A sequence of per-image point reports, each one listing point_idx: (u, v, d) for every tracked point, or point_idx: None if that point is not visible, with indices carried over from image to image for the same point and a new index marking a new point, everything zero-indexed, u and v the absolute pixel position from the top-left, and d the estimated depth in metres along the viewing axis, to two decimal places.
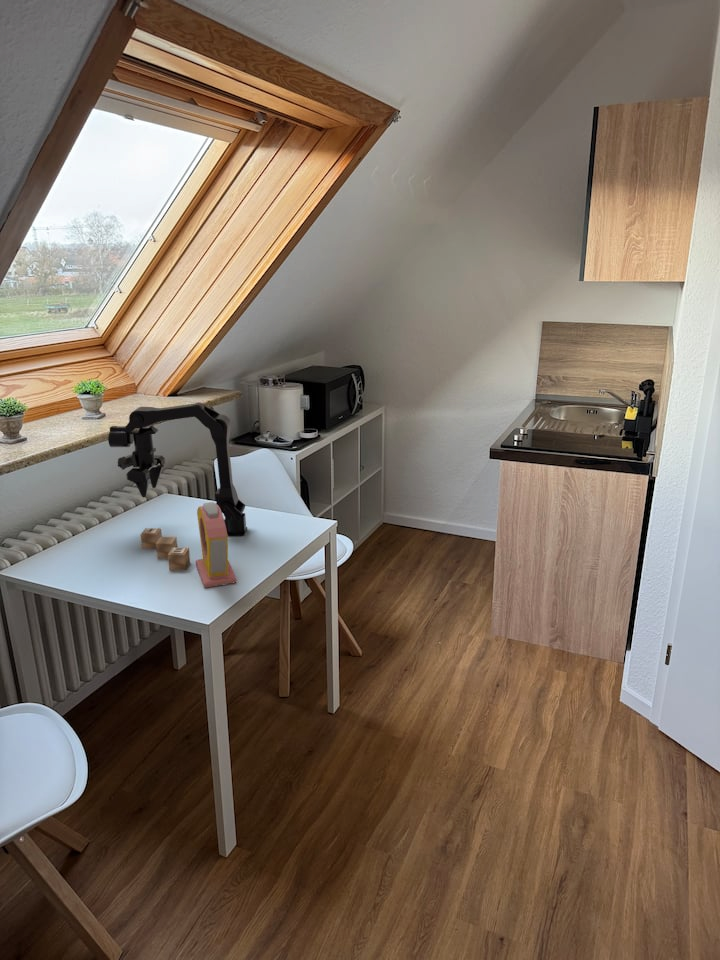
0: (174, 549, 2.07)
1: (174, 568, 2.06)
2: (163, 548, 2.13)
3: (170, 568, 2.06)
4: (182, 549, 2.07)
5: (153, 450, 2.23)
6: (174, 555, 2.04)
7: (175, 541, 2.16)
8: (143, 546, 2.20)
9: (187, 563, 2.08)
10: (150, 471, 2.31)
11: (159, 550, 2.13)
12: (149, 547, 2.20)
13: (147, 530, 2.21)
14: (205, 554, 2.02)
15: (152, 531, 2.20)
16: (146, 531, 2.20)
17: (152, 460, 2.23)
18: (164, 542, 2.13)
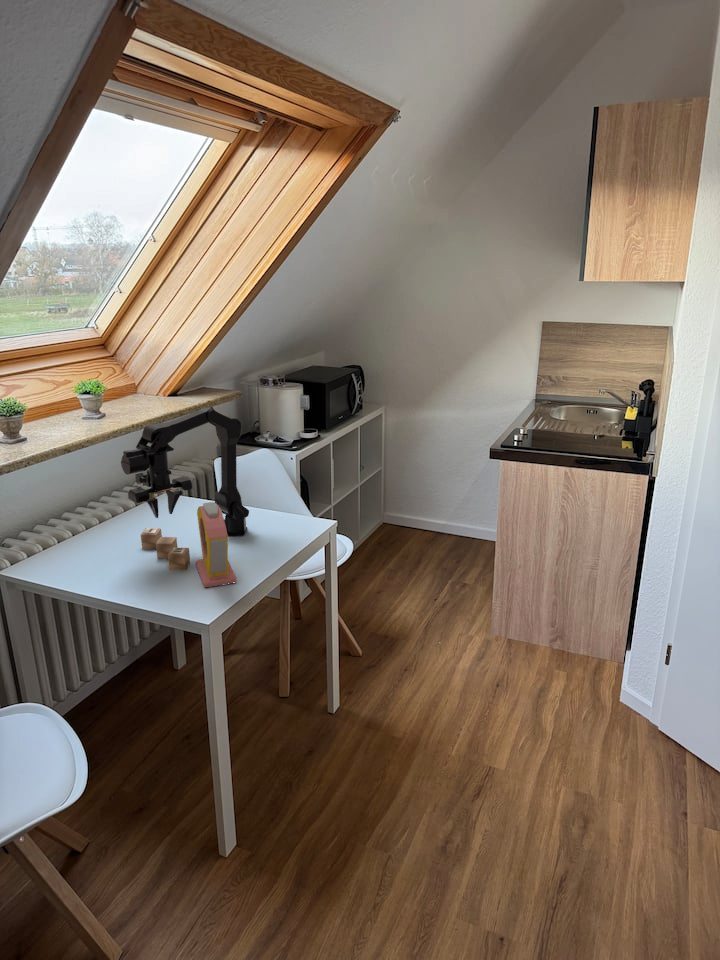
0: (174, 549, 2.07)
1: (174, 568, 2.06)
2: (163, 548, 2.13)
3: (170, 568, 2.06)
4: (182, 549, 2.07)
5: (165, 473, 2.06)
6: (174, 555, 2.04)
7: (175, 541, 2.16)
8: (143, 546, 2.20)
9: (187, 563, 2.08)
10: (168, 495, 2.12)
11: (159, 550, 2.13)
12: (149, 547, 2.20)
13: (147, 530, 2.21)
14: (205, 554, 2.02)
15: (152, 531, 2.20)
16: (146, 531, 2.20)
17: (161, 483, 2.06)
18: (164, 542, 2.13)
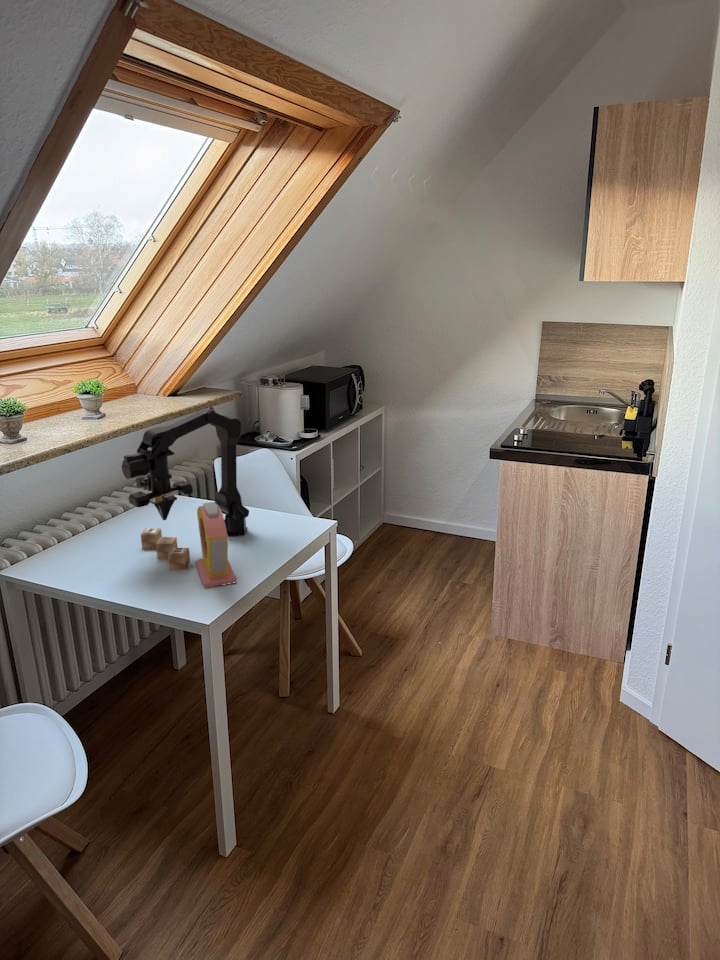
0: (174, 549, 2.07)
1: (174, 568, 2.06)
2: (163, 548, 2.13)
3: (170, 568, 2.06)
4: (182, 549, 2.07)
5: (165, 477, 2.06)
6: (174, 555, 2.04)
7: (175, 541, 2.16)
8: (143, 546, 2.20)
9: (187, 563, 2.08)
10: None
11: (159, 550, 2.13)
12: (149, 547, 2.20)
13: (147, 530, 2.21)
14: (205, 554, 2.02)
15: (152, 531, 2.20)
16: (146, 531, 2.20)
17: (162, 487, 2.06)
18: (164, 542, 2.13)
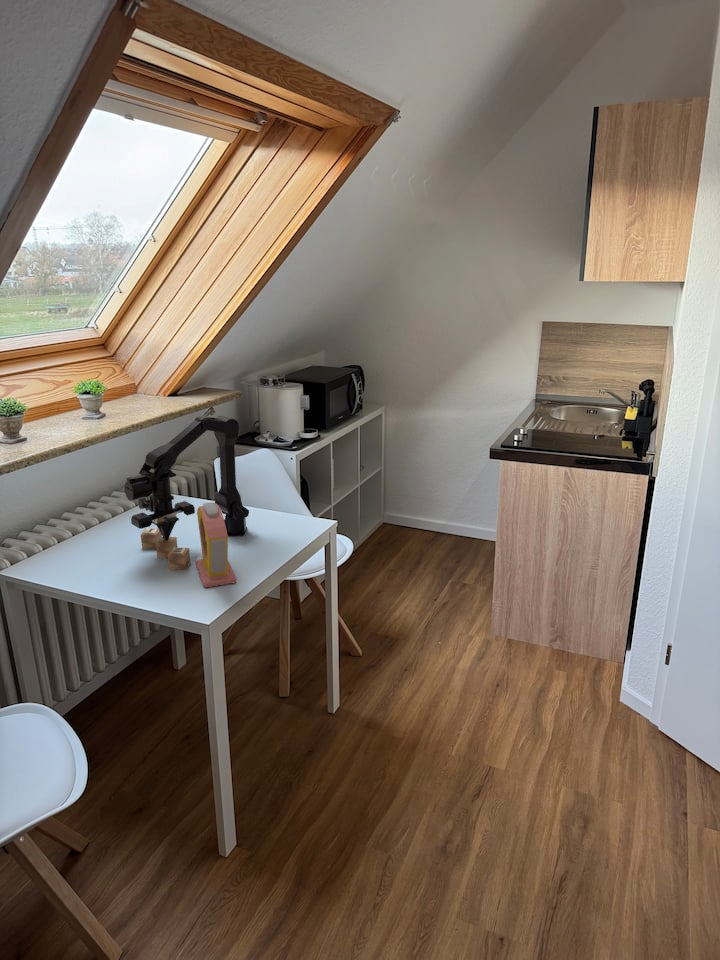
0: (174, 549, 2.07)
1: (174, 568, 2.06)
2: (163, 548, 2.12)
3: (170, 568, 2.06)
4: (182, 549, 2.07)
5: (167, 498, 2.08)
6: (174, 555, 2.04)
7: (175, 541, 2.16)
8: (143, 546, 2.20)
9: (187, 563, 2.08)
10: (164, 522, 2.13)
11: (159, 550, 2.13)
12: (149, 547, 2.20)
13: (147, 530, 2.21)
14: (205, 554, 2.02)
15: (152, 531, 2.20)
16: (146, 531, 2.20)
17: (164, 509, 2.08)
18: (164, 542, 2.13)
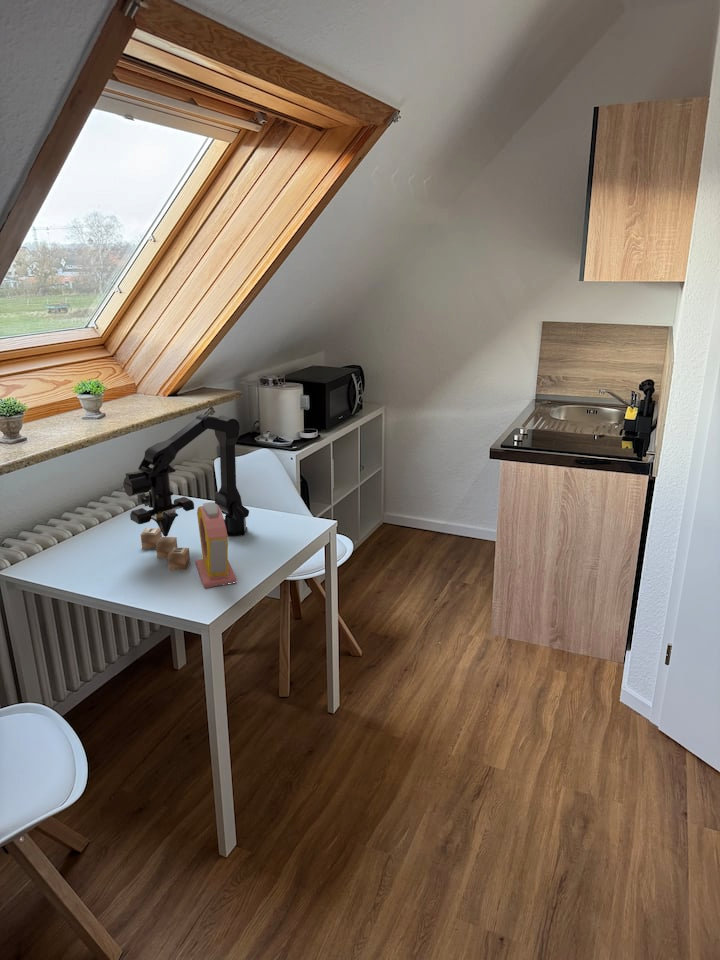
0: (174, 549, 2.07)
1: (174, 568, 2.06)
2: (163, 548, 2.13)
3: (170, 568, 2.06)
4: (182, 549, 2.07)
5: (166, 494, 2.08)
6: (174, 555, 2.04)
7: (175, 541, 2.16)
8: (143, 546, 2.20)
9: (187, 563, 2.07)
10: (164, 517, 2.13)
11: (159, 550, 2.13)
12: (149, 547, 2.20)
13: (147, 530, 2.21)
14: (205, 554, 2.02)
15: (152, 531, 2.20)
16: (146, 531, 2.20)
17: (163, 504, 2.08)
18: (164, 542, 2.13)
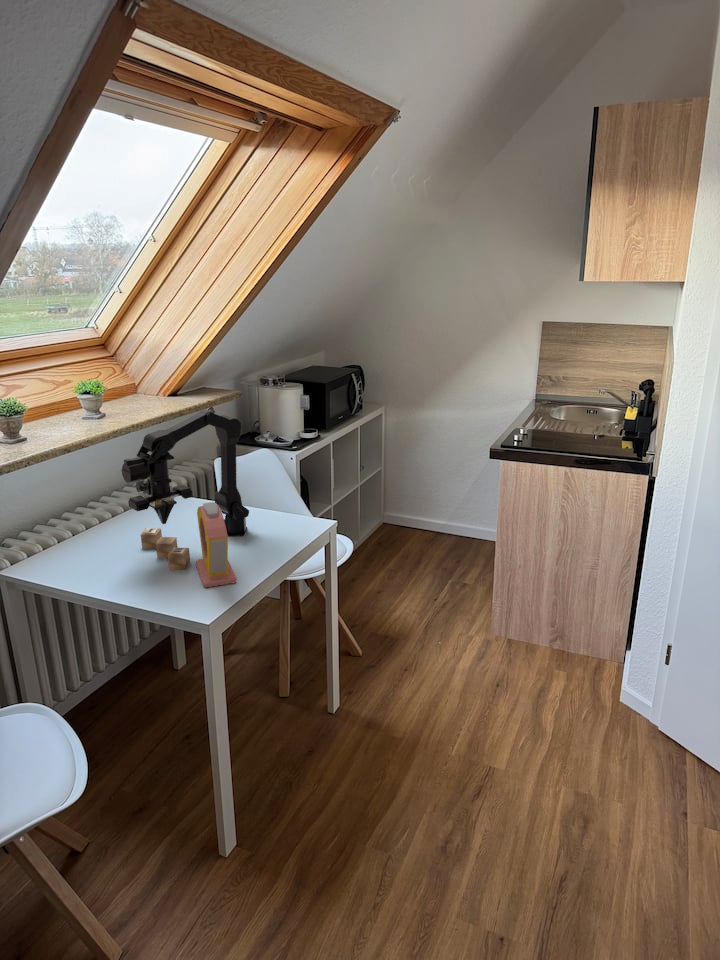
0: (174, 549, 2.07)
1: (174, 568, 2.06)
2: (163, 548, 2.13)
3: (170, 568, 2.06)
4: (182, 549, 2.07)
5: (165, 481, 2.06)
6: (174, 555, 2.04)
7: (175, 541, 2.16)
8: (143, 546, 2.20)
9: (187, 563, 2.07)
10: None
11: (159, 550, 2.13)
12: (149, 547, 2.20)
13: (147, 530, 2.21)
14: (205, 554, 2.02)
15: (152, 531, 2.20)
16: (146, 531, 2.20)
17: (162, 491, 2.06)
18: (164, 542, 2.13)
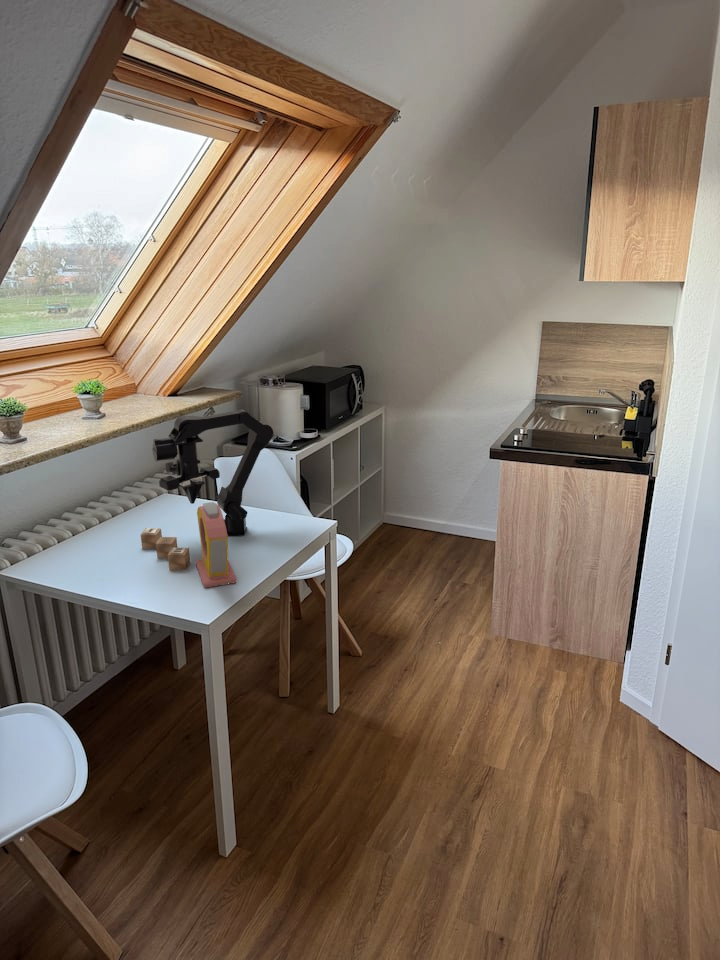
0: (174, 549, 2.07)
1: (174, 568, 2.06)
2: (163, 548, 2.13)
3: (170, 568, 2.06)
4: (182, 549, 2.07)
5: (194, 462, 2.16)
6: (174, 555, 2.04)
7: (175, 541, 2.16)
8: (143, 546, 2.20)
9: (187, 563, 2.07)
10: None
11: (159, 550, 2.13)
12: (149, 547, 2.20)
13: (147, 530, 2.21)
14: (205, 554, 2.02)
15: (152, 531, 2.20)
16: (146, 531, 2.20)
17: (191, 472, 2.16)
18: (164, 542, 2.13)
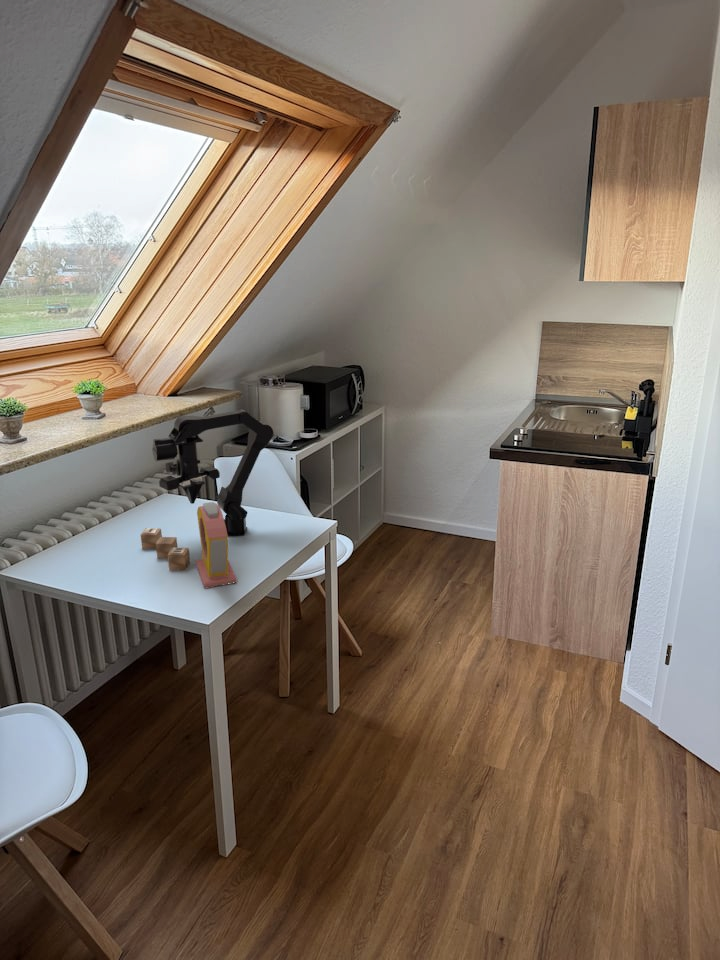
0: (174, 549, 2.07)
1: (174, 568, 2.06)
2: (163, 548, 2.13)
3: (170, 568, 2.06)
4: (182, 549, 2.07)
5: (194, 462, 2.16)
6: (174, 555, 2.04)
7: (175, 541, 2.16)
8: (143, 546, 2.20)
9: (187, 563, 2.07)
10: None
11: (159, 550, 2.13)
12: (149, 547, 2.20)
13: (147, 530, 2.21)
14: (205, 554, 2.02)
15: (152, 531, 2.20)
16: (146, 531, 2.20)
17: (191, 472, 2.16)
18: (164, 542, 2.13)
